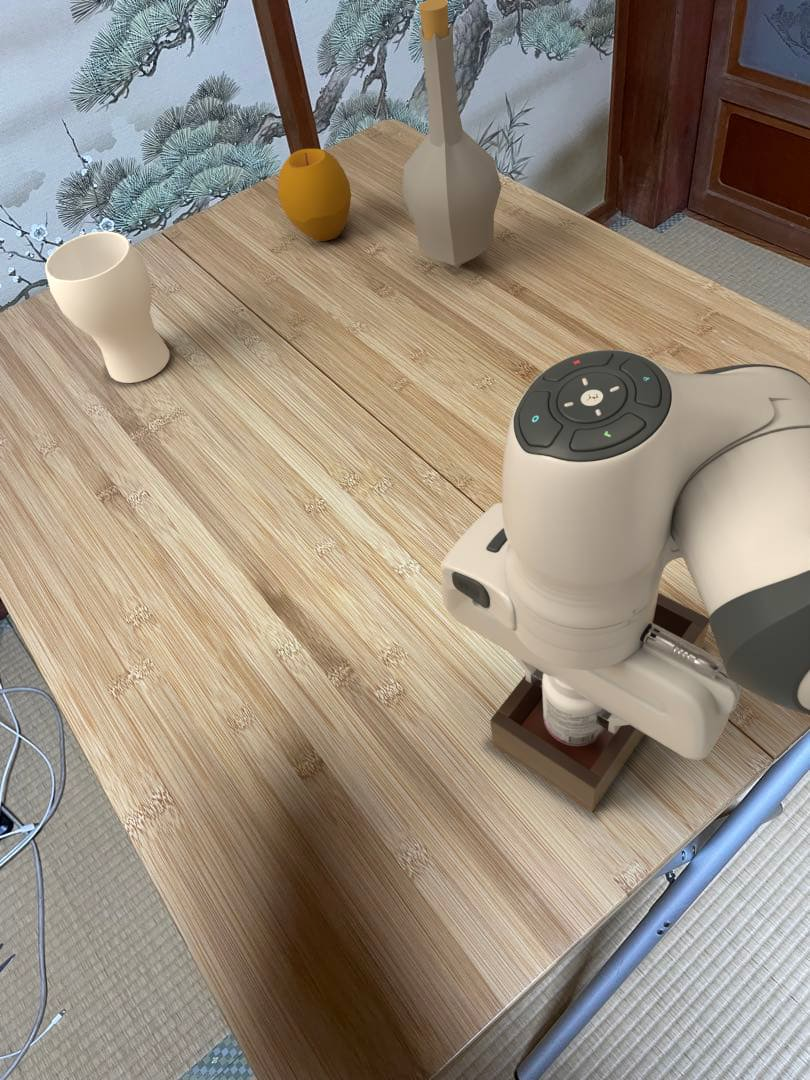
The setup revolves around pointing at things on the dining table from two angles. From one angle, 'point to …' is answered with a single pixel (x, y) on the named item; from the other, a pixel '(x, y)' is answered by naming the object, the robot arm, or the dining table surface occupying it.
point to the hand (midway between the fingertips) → (574, 699)
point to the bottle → (448, 160)
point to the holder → (590, 765)
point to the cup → (109, 302)
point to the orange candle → (315, 193)
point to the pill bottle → (569, 714)
